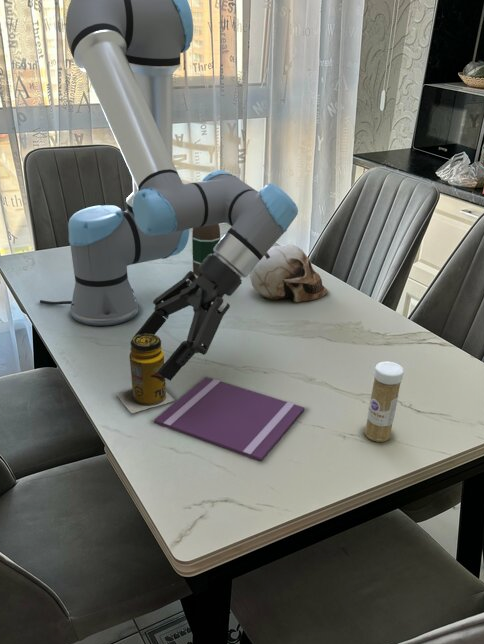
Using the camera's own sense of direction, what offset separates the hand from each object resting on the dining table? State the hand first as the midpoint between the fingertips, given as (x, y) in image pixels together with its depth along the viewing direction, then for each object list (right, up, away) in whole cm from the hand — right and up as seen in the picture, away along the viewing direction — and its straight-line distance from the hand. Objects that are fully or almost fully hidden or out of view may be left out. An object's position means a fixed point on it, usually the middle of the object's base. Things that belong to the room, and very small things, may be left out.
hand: (150, 358), depth 107 cm
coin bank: (+28, +20, +46) cm, 57 cm away
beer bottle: (+6, +26, +55) cm, 61 cm away
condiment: (-2, -7, +4) cm, 8 cm away
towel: (+14, -10, 0) cm, 18 cm away
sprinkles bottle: (+40, -14, -3) cm, 42 cm away
